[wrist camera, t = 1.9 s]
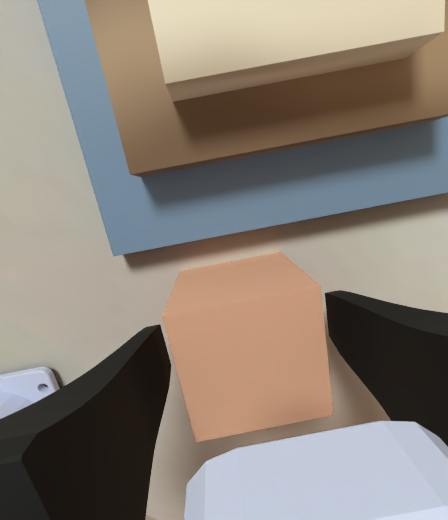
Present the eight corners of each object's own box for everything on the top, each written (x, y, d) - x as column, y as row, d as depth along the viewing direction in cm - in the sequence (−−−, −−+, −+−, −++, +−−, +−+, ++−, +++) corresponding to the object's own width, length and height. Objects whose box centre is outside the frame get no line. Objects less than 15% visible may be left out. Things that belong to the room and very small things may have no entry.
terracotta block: (291, 340, 14) (333, 415, 9) (200, 357, 14) (195, 442, 9) (279, 251, 13) (320, 285, 8) (180, 270, 13) (162, 316, 8)
